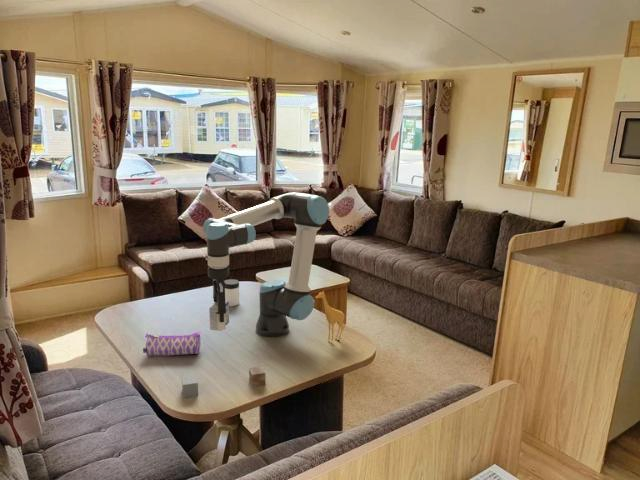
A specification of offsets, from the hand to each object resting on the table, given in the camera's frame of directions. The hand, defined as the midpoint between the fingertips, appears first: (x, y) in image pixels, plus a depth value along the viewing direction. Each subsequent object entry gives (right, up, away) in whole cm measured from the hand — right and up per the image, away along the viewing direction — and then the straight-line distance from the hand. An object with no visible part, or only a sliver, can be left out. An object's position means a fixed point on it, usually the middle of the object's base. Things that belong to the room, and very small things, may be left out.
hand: (219, 324), depth 176 cm
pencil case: (-23, -16, +19) cm, 34 cm away
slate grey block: (-9, -23, -8) cm, 26 cm away
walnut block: (+14, -22, 0) cm, 26 cm away
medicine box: (0, -1, 0) cm, 1 cm away
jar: (-9, -2, +73) cm, 73 cm away
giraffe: (+41, -14, +33) cm, 55 cm away
